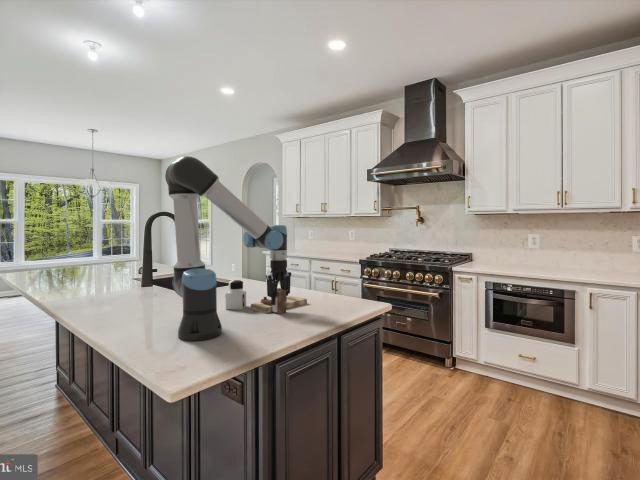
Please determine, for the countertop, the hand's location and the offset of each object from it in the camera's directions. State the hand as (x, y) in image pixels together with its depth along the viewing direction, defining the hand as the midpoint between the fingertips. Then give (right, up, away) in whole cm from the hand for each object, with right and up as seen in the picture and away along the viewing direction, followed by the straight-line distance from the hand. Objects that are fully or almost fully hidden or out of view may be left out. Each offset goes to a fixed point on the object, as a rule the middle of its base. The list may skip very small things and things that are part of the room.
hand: (279, 310), depth 163 cm
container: (-21, -1, +9) cm, 23 cm away
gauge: (-3, -1, +3) cm, 4 cm away
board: (-1, 0, +11) cm, 11 cm away
